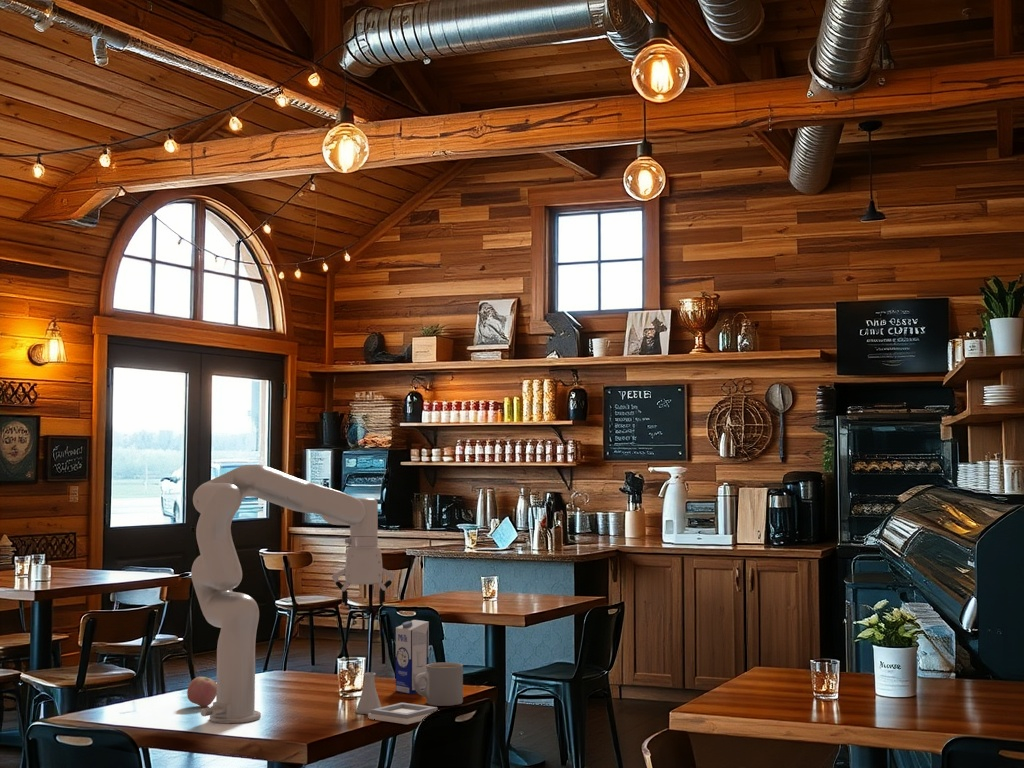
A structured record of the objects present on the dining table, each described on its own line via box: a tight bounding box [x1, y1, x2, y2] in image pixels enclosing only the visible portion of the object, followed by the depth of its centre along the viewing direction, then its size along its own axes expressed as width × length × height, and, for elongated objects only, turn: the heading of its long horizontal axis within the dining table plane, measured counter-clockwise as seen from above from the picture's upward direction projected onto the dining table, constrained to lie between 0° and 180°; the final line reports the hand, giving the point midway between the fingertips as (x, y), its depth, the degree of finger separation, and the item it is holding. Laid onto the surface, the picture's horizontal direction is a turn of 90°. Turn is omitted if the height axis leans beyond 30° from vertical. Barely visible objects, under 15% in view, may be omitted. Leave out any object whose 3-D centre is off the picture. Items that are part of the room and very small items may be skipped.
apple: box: [186, 676, 217, 708], centre depth 321 cm, size 8×8×8 cm
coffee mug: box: [414, 661, 464, 707], centre depth 326 cm, size 13×10×10 cm
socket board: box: [367, 702, 439, 725], centre depth 305 cm, size 13×13×2 cm
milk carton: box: [395, 619, 430, 695], centre depth 344 cm, size 7×7×20 cm
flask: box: [355, 672, 382, 715], centre depth 312 cm, size 7×7×10 cm
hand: (363, 605), depth 330 cm, fingers open, 9 cm apart
